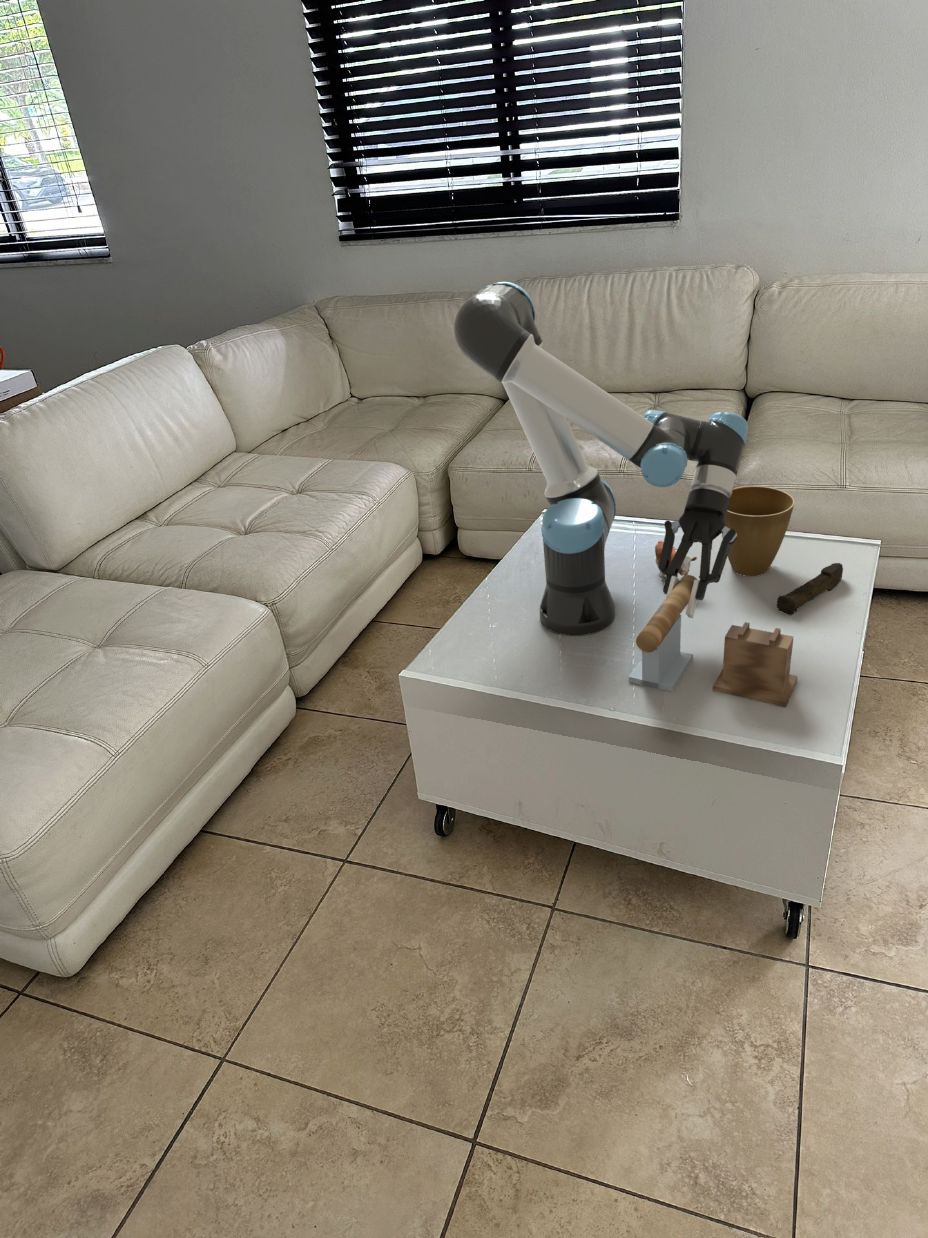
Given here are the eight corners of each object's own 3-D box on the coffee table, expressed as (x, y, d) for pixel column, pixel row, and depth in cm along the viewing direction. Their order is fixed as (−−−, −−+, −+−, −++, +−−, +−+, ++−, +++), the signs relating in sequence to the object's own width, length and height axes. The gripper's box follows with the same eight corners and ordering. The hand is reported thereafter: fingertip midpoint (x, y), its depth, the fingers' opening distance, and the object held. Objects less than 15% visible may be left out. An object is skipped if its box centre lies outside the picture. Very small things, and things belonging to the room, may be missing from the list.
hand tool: (792, 618, 155) (794, 598, 153) (774, 611, 158) (776, 590, 156) (853, 585, 163) (856, 564, 161) (835, 578, 166) (838, 558, 164)
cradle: (628, 681, 144) (628, 639, 139) (651, 649, 151) (651, 609, 147) (672, 691, 140) (673, 649, 135) (693, 658, 147) (694, 617, 143)
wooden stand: (712, 690, 139) (715, 636, 133) (726, 665, 144) (729, 613, 139) (785, 707, 133) (791, 651, 127) (797, 681, 138) (803, 626, 133)
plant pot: (699, 565, 177) (702, 497, 169) (754, 547, 181) (759, 480, 173) (745, 593, 165) (750, 521, 157) (803, 573, 169) (811, 502, 161)
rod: (656, 654, 135) (656, 636, 133) (635, 650, 137) (635, 632, 135) (699, 593, 150) (699, 576, 149) (680, 590, 152) (680, 573, 150)
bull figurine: (681, 596, 167) (682, 561, 163) (650, 569, 178) (650, 536, 174) (700, 591, 167) (702, 556, 163) (668, 565, 179) (669, 531, 175)
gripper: (758, 507, 150) (727, 627, 146) (671, 497, 158) (639, 610, 155) (752, 491, 143) (719, 616, 140) (661, 482, 152) (629, 599, 148)
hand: (677, 613), depth 147 cm, fingers closed on rod, 3 cm apart
